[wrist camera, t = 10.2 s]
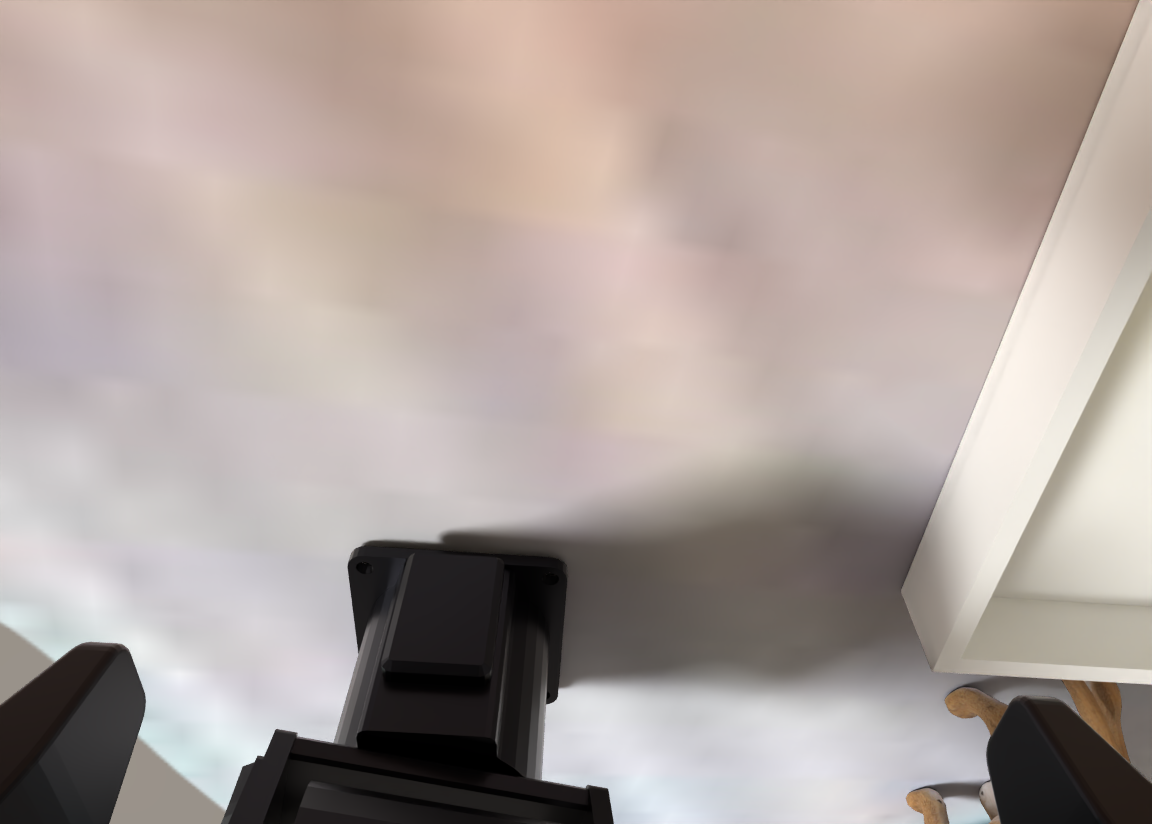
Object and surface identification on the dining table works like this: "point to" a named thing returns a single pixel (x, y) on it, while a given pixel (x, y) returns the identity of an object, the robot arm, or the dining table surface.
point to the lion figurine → (1090, 698)
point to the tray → (1061, 436)
